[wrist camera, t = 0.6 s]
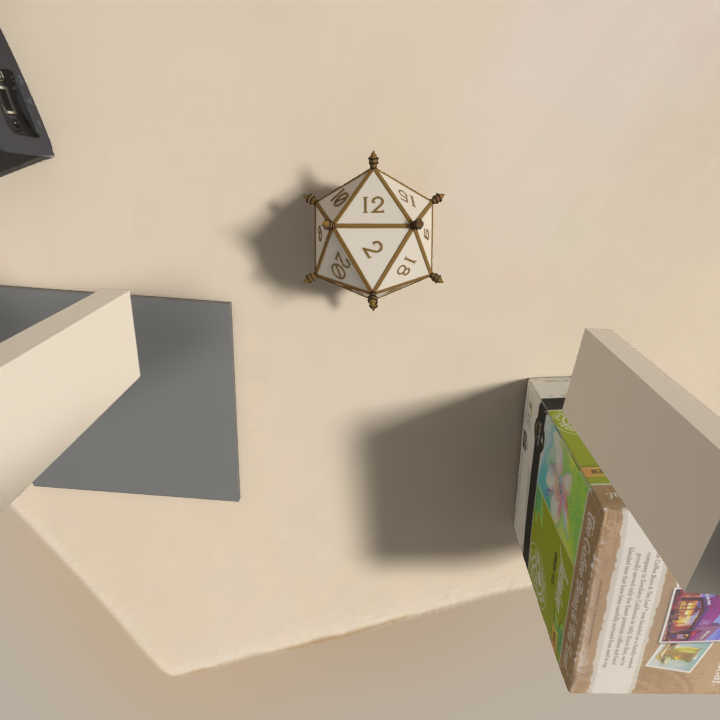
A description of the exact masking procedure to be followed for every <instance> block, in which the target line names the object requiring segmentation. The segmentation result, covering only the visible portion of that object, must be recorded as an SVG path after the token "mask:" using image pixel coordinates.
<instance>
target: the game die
mask: <svg viewBox="0 0 720 720" xmlns="http://www.w3.org/2000/svg"><path fill="white" fill-rule="evenodd" d="M368 159H369V164H370V169H368V170H367V171H365V172H363V173H362V174H360V175H358V176H357V177H355V178H354V179H352V180H350V181H349V182H347V183H345V184H344V185H342V186H341V187H339V188H337V189H336V190H334V191H332V192H331V193H329V194H328V195H326V196H324V197H323V198H321V199H319V200H316V198H315V196H312V194H310V195H304V197H305V199H306V202H307V203H308V202H309V203H310V204H313V205H315V272H314V273H312V274H311V273H310V274H309V275H306V278H305V280H304V282H303V283H312V282H313V281H315V279H316V278H317V277H319V278H321V279H324V280H326V281H328V282H331V283H333V284H335V285H338V286H340V287H343V288H345V289H347V290H350V291H352V292H354V293H357V294H359V295H361V296H364V297H366V298H368V300H367V301H368V302H369V304H370V305H369V306H370V308H372V310H373V311H374V310H375V308H377V306H378V305H377V303H378V302H377V301H378V300H377V299H379V298H381V297H383V296H386V295H388V294H390V293H393V292H395V291H397V290H400V289H402V288H404V287H407V286H409V285H412V284H414V283H416V282H419V281H421V280H423V279H426V278H428V277H430V278H431V279H432V281H434V282H435V283H444V282H443V280H442V278H441V275H440V276H439V275H438V274H437V273H436V274H435V273H433V272H432V245H433V204H436V203H437V204H438V202H441V201H442V198H443V197H444V195H445V194H438V193H436V195H435V196H433V198H432V199H428V198H426V197H425V196H423V195H421V194H419V193H418V192H416V191H414V190H413V189H411V188H409V187H408V186H406V185H404V184H403V183H401V182H399V181H397V180H396V179H394V178H392V177H391V176H389V175H387V174H386V173H384V172H382V171H380V170H379V169H377V164H378V159H379V158H378V157H377V156H376V154H375V152H374V150H373V152H372V154H371V156H370V157H369V158H368Z"/></svg>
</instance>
